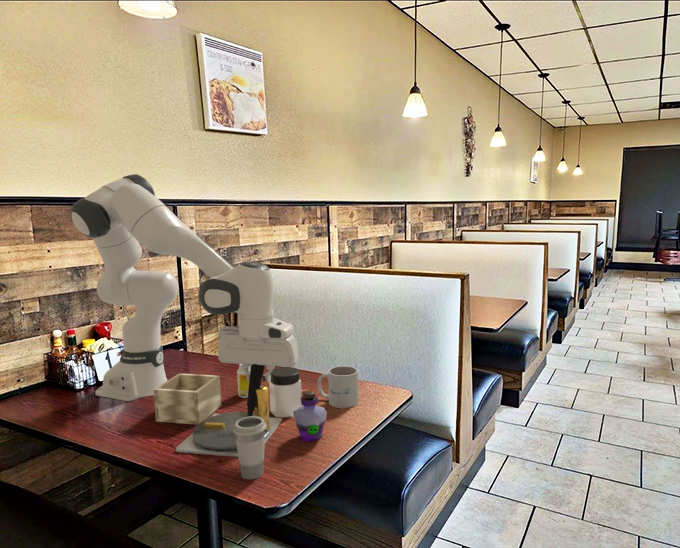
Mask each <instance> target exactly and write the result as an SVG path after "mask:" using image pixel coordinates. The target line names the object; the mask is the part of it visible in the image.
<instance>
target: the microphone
mask: <svg viewBox="0 0 680 548" xmlns="http://www.w3.org/2000/svg"><path fill="white" fill-rule="evenodd" d="M265 366H266V365H257V364H253V365H251V370H250V379H249V389H248V398H246V399H247V400H246V406H247V407H246V408H247V409H246V410H247V412H248V414H247V417H249V416H252V415H253V413H254V410H255V407H256V405H257V393H256V390H258V389H259V388H260V386H261V385H262V382H263V375H264V370H265V368H266V367H265Z"/></svg>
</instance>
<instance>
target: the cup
mask: <svg viewBox="0 0 680 548" xmlns="http://www.w3.org/2000/svg"><path fill="white" fill-rule="evenodd" d="M266 427H267V425H266V423H265V422H264V420H263V419H262V418H261V417H257V416H249V417H244V418H241V419H239V420H238V421H236V423H235V426H234V428H233V432H234V433H235V434H236V445H237V453H238V457H237V458H238V463H239V467H240V475H241V478H243V479H245V480H255V479H258V478H260V477H262V475H264V461H265V445H266V443H265V433H264V430H265V429H266Z"/></svg>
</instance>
